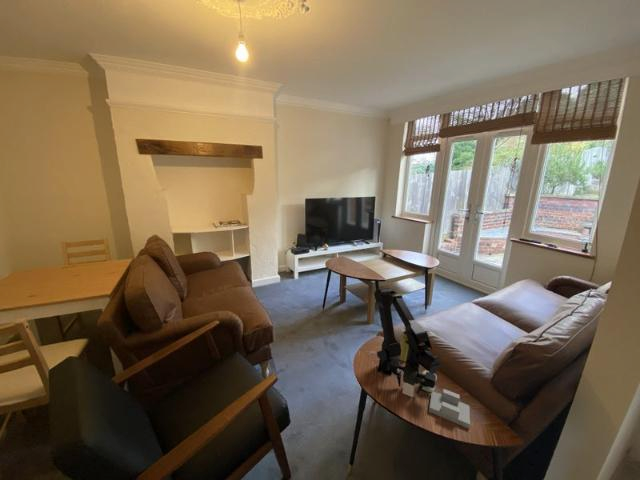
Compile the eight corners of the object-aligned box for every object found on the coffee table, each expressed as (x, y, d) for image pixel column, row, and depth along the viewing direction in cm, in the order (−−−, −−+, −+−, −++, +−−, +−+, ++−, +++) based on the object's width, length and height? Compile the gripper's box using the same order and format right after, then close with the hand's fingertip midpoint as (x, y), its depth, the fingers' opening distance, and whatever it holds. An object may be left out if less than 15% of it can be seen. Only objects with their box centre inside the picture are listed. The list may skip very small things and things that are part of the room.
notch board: (428, 411, 103) (430, 400, 102) (431, 394, 112) (433, 384, 111) (469, 428, 97) (471, 417, 96) (468, 409, 106) (470, 399, 105)
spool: (419, 388, 115) (421, 376, 114) (421, 380, 120) (423, 368, 119) (433, 394, 112) (436, 382, 111) (435, 385, 118) (437, 373, 116)
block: (402, 393, 112) (404, 380, 110) (404, 387, 115) (406, 375, 114) (412, 397, 110) (414, 384, 109) (413, 391, 113) (415, 378, 112)
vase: (410, 363, 132) (415, 337, 129) (398, 360, 133) (402, 335, 130) (409, 355, 138) (413, 331, 135) (397, 353, 139) (401, 328, 136)
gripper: (387, 359, 106) (381, 392, 109) (436, 378, 98) (429, 413, 101) (393, 346, 116) (388, 376, 119) (438, 362, 108) (432, 394, 111)
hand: (408, 389), depth 112 cm, fingers open, 7 cm apart
